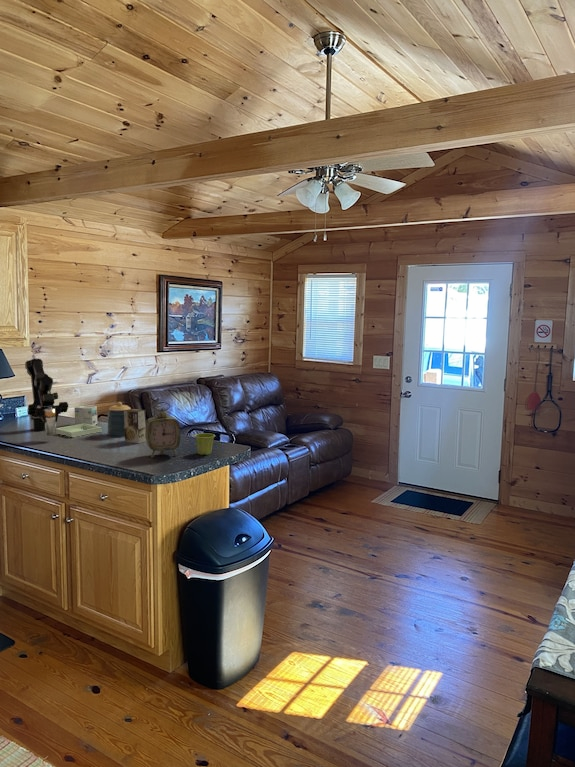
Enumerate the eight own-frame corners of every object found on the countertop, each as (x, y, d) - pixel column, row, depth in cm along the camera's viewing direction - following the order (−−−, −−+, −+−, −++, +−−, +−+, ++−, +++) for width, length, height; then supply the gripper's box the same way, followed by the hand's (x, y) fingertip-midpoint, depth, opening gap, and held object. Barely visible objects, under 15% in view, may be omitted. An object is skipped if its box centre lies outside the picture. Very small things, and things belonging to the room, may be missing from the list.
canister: (102, 435, 304) (101, 402, 301) (118, 431, 316) (117, 399, 313) (122, 438, 299) (121, 404, 297) (137, 433, 311) (137, 401, 309)
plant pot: (205, 450, 276) (205, 432, 275) (219, 453, 270) (219, 435, 269) (190, 453, 269) (190, 435, 268) (204, 457, 263) (204, 438, 262)
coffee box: (147, 441, 293) (146, 409, 291) (138, 443, 287) (138, 411, 285) (132, 439, 297) (132, 408, 295) (124, 441, 291) (123, 410, 289)
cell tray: (54, 433, 307) (54, 428, 307) (84, 428, 322) (84, 423, 321) (71, 437, 298) (71, 432, 297) (101, 432, 312) (101, 427, 312)
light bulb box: (97, 424, 333) (97, 405, 332) (92, 426, 327) (92, 407, 325) (80, 423, 334) (79, 405, 333) (74, 426, 328) (74, 407, 326)
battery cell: (43, 434, 289) (42, 407, 287) (52, 432, 293) (51, 406, 291) (48, 436, 286) (47, 408, 284) (58, 434, 290) (57, 407, 288)
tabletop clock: (148, 459, 258) (147, 404, 255) (145, 454, 266) (144, 401, 263) (180, 456, 264) (180, 402, 261) (176, 451, 272) (175, 399, 269)
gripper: (27, 388, 284) (32, 414, 277) (66, 386, 294) (72, 410, 287) (25, 402, 292) (30, 427, 284) (64, 399, 302) (69, 423, 294)
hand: (50, 422), depth 287 cm, fingers closed on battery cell, 5 cm apart
